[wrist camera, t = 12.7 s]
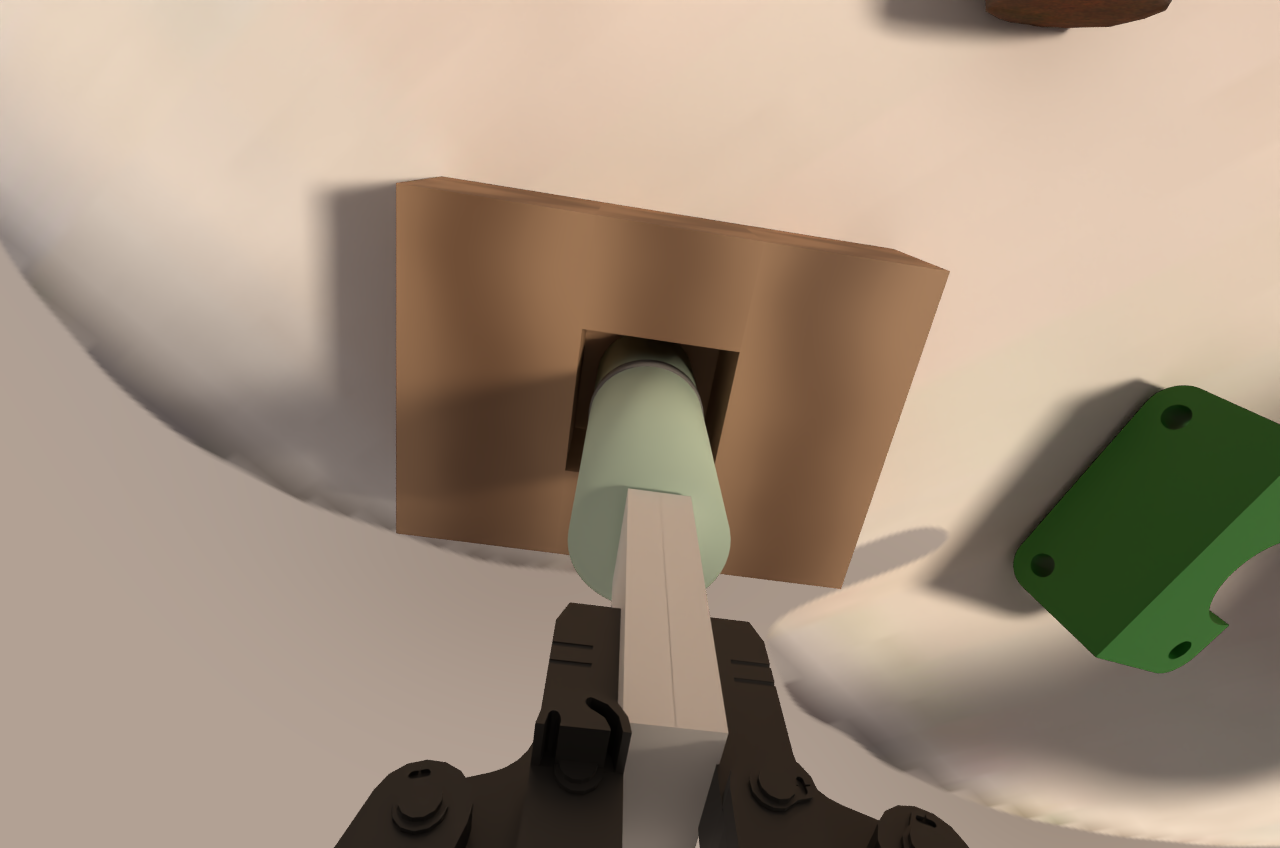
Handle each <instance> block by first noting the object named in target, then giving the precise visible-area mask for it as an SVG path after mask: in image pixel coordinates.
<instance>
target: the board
mask: <svg viewBox="0 0 1280 848" xmlns="http://www.w3.org/2000/svg"><path fill="white" fill-rule="evenodd" d="M949 272H950V271H948V270H945V269H943V268H940V267H937V266H935V265H932V264H930V263H927V262H925V261H922V260H920V259H917V258H915V257H912V256H910V255H907V254H905V253H902V252H900V251H897V250H894V249H889V248H883V247H877V246H871V245H865V244H858V243H852V242H846V241H840V240H833V239H827V238H821V237H815V236H809V235H802V234H796V233H790V232H784V231H778V230H771V229H765V228H759V227H753V226H746V225H740V224H734V223H728V222H722V221H715V220H709V219H703V218H697V217H691V216H684V215H678V214H672V213H666V212H659V211H653V210H647V209H641V208H635V207H628V206H622V205H616V204H610V203H603V202H597V201H591V200H585V199H579V198H572V197H566V196H560V195H554V194H548V193H541V192H535V191H529V190H523V189H516V188H510V187H504V186H498V185H492V184H485V183H479V182H473V181H467V180H461V179H454V178H448V177H435V178H428V179H421V180H414V181H407V182H400V183H396V533H398V534H406V535H414V536H422V537H430V538H438V539H446V540H454V541H462V542H470V543H478V544H486V545H494V546H502V547H510V548H518V549H526V550H534V551H542V552H550V553H558V554H566V555H569V550H568V531H569V525H570V520H571V514H572V509H573V503H574V498H575V492H576V487H577V481H578V476H579V470H580V465H581V459H582V454H583V448H584V443H585V437H586V432H587V426H588V421H589V420H588V416H589V407H590V402H591V398H592V395H593V393H594V388H595V382H596V377H597V371H598V367H599V363H600V360H601V358H602V356H603V354H604V353H605V351H606V350H607V349H608V347H609V346H610V345H611V344H612V343H614V342H615V341H616V340H618V339H619V338H621V337H623V336H625V335H626V336H633V337H640V338H647V339H653V340H660V341H667V342H674V343H678V344H679V345H680V346H681V347H682V348H683V349H684V351H685V352H686V354H687V356H688V357H689V360H690V362H691V366H692V370H693V374H694V378H695V383H696V387H697V390H698V393H699V395H700V398H701V402H702V406H703V413H704V421H705V425H706V430H707V434H708V438H709V443H710V447H711V451H712V455H713V460H714V464H715V468H716V473H717V477H718V481H719V485H720V490H721V494H722V498H723V503H724V507H725V511H726V515H727V520H728V524H729V528H730V537H731V541H730V550H729V555H728V558H727V561H726V564H725V566H724V567H723V569H722V571H721V573H720V574H726V575H734V576H742V577H750V578H758V579H767V580H774V581H783V582H790V583H798V584H806V585H814V586H823V587H830V588H838V589H841V587H842V584H843V581H844V578H845V575H846V572H847V569H848V566H849V563H850V561H851V558H852V555H853V552H854V549H855V546H856V543H857V540H858V537H859V535H860V532H861V529H862V526H863V523H864V520H865V517H866V514H867V511H868V508H869V505H870V503H871V500H872V497H873V494H874V491H875V488H876V485H877V482H878V479H879V476H880V473H881V470H882V468H883V465H884V462H885V459H886V456H887V453H888V450H889V447H890V444H891V441H892V438H893V436H894V433H895V430H896V427H897V424H898V421H899V418H900V415H901V412H902V409H903V406H904V403H905V401H906V398H907V395H908V392H909V389H910V386H911V383H912V380H913V377H914V374H915V371H916V369H917V366H918V363H919V360H920V357H921V354H922V351H923V348H924V345H925V342H926V339H927V337H928V334H929V331H930V328H931V325H932V322H933V319H934V316H935V313H936V310H937V307H938V304H939V302H940V299H941V296H942V293H943V290H944V287H945V284H946V281H947V278H948V275H949Z"/></svg>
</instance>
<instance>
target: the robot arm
mask: <svg viewBox="0 0 1280 848" xmlns="http://www.w3.org/2000/svg"><path fill="white" fill-rule="evenodd" d="M769 665H770V663H769V659H768V655H767V651H766V648H765V644H764V641H763V640H762V639H761V637H760V636H759V635H758V633H757V632H756V631H755V629H754V628H753V627H752V625H751V624H750V623H749V622H745V621H736V620H728V619H719V618H711V617H710V614H709V607H708V601H707V594H706V588H705V582H704V575H703V569H702V563H701V556H700V550H699V544H698V538H697V531H696V525H695V519H694V512H693V506H692V500H691V496H683V495H675V494H668V493H660V492H653V491H645V490H637V489H630V488H628V492H627V498H626V504H625V510H624V516H623V522H622V528H621V534H620V540H619V546H618V552H617V558H616V564H615V570H614V576H613V582H612V599H611V607H603V606H595V605H586V604H578V603H569V604H568V606H567V607H566V609H565V610H564V611H563V612H562V613H561V615H560V616H559V617H558V618H557V619H556V624H555V630H554V636H553V642H552V647H551V653H550V660H549V665H548V671H547V678H546V683H545V689H544V695H543V702H542V708H541V711H540V713H539V716H538V718H537V720H536V724H535V731H534V740H533V743H532V745H531V746H530V748H529V750H528V751H527V752H526V753H525V754H524V755H523V756H522V757H521V758H520V759H518V760H517V761H516V762H514V763H512V764H510V765H509V766H507V767H505V768H503V769H500V770H497V771H494V772H490V773H486V774H481V775H476V776H472V777H467V778H465V776H464V775H463V773H462V772H461V771H460V770H458V769H457V768H455V767H453V766H451V765H450V764H448V763H446V762H440V761H433V760H424V761H419V762H414V763H409V764H406V765H405V766H403V767H401V768H399V769H397V770H395V771H394V772H392V773H390V774H389V775H388V776H387V777H386V778H385V779H384V780H383V781H382V782H381V783H380V784H379V785H378V786H377V787H376V788H375V789H374V791H373V792H372V793H371V795H370V796H369V798H368V799H367V801H366V802H365V804H364V805H363V806H362V808H361V809H360V811H359V812H358V814H357V815H356V817H355V818H354V820H353V821H352V822H351V824H350V825H349V827H348V828H347V830H346V831H345V833H344V834H343V836H342V837H341V838H340V840H339V841H338V843H337V844H336V846H335V847H334V848H695V846H696V843H697V839H698V836H699V844H700V848H969V847H968V846H967V844H966V843H965V842H964V841H963V840H962V839H961V837H960V836H959V835H958V834H957V833H956V832H955V831H954V830H953V828H952V827H951V826H949V825H948V824H947V823H945V822H944V821H942V820H941V819H940V818H938V817H937V816H936V815H934V814H932V813H930V812H927V811H925V810H922V809H920V808H917V807H915V806H900V805H898V806H895V807H893V808H891V809H889V810H886V811H885V812H884V814H883V815H882V817H881V819H880V820H876V819H874V818H872V817H869V816H867V815H864V814H862V813H860V812H857V811H855V810H852V809H850V808H847V807H845V806H842V805H840V804H839V803H836V802H835V801H833V800H831V799H829V798H827V797H826V796H825V795H824V794H822V793H821V792H820V791H818V790H817V788H816V786H815V784H814V782H813V780H812V778H811V776H810V775H809V774H808V773H807V772H806V771H805V770H804V769H803V768H802V767H801V766H800V765H799V764H798V763H797V762H796V760H795V758H794V755H793V752H792V748H791V744H790V741H789V737H788V733H787V729H786V725H785V721H784V717H783V713H782V710H781V706H780V702H779V698H778V694H777V690H776V687H775V686H774V679H773V675H772V671H771V668H770V667H769Z"/></svg>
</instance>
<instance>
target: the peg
mask: <svg viewBox="0 0 1280 848" xmlns="http://www.w3.org/2000/svg"><path fill="white" fill-rule="evenodd" d="M588 420H589V421H588V426H587V432H586V437H585V443H584V448H583V454H582V459H581V465H580V470H579V476H578V481H577V487H576V492H575V498H574V503H573V509H572V514H571V520H570V525H569V531H568V550H569V555H570V558H571V561H572V563H573V566H574V568H575V570H576V571H577V573H578V575H579V576H580V577H581V578H582V580H583V581H584V582H585V583H586V584H587V585H588V586H589V587H590V588H591V589H593V590H594V591H595V592H597V593H598V594H599V595H602V596H603V597H605V598H606V599H609V600H611V599H612V582H613V576H614V570H615V564H616V558H617V552H618V546H619V540H620V534H621V528H622V522H623V516H624V510H625V504H626V498H627V492H628V488H630V489H637V490H645V491H653V492H660V493H668V494H675V495H683V496H691V500H692V506H693V512H694V519H695V525H696V531H697V538H698V544H699V550H700V556H701V563H702V569H703V575H704V582H705V588H707V587H709V586H710V585H711V584H712V583H713V582H714V580H715V579H716V578H717V577H718V575H719V574H720V573H721V571H722V569H723V567H724V566H725V564H726V561H727V558H728V555H729V550H730V541H731V537H730V528H729V524H728V520H727V515H726V511H725V507H724V503H723V498H722V494H721V490H720V485H719V481H718V477H717V473H716V468H715V464H714V460H713V455H712V451H711V447H710V443H709V438H708V434H707V430H706V425H705V421H704V413H703V406H702V402H701V398H700V395H699V393H698V390H697V387H696V383H695V378H694V374H693V370H692V366H691V362H690V360H689V357H688V356H687V354H686V352H685V351H684V349H683V348H682V347H681V346H680V345H679V344H678V343H674V342H667V341H660V340H653V339H647V338H640V337H633V336H626V335H625V336H623V337H621V338H619V339H618V340H616V341H615V342H614V343H612V344H611V345H610V346H609V347H608V349H607V350H606V351H605V353H604V354H603V356H602V358H601V360H600V363H599V367H598V371H597V377H596V382H595V388H594V393H593V395H592V398H591V402H590V407H589V416H588Z"/></svg>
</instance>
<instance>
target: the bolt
mask: <svg viewBox="0 0 1280 848" xmlns="http://www.w3.org/2000/svg"><path fill="white" fill-rule="evenodd" d="M1171 1H1172V0H986V12H988V13H990V14H992V15H993V16H995V17H997V18H999V19H1002V20H1005V21H1008V22H1013V23H1021V24H1028V25H1033V26H1039V27H1058V28H1079V27H1111V26H1115V25H1119V24H1124V23H1128V22H1132V21H1136V20H1141V19H1145V18H1147V17H1150V16H1152V15H1155V14H1157V13H1160V12H1163V11H1165V10H1166V9H1167V8H1168V6H1169V4H1170V3H1171Z"/></svg>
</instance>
